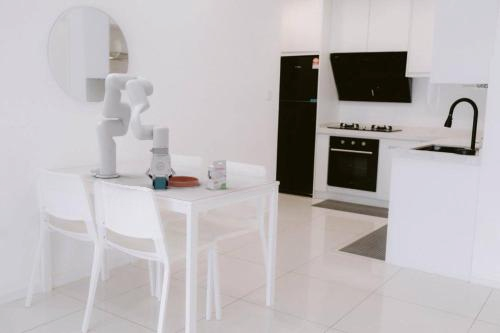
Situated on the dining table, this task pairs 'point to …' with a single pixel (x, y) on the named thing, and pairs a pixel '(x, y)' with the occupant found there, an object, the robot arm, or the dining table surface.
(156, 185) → the block
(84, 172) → the dining table surface
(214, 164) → the ink box
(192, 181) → the bowl
